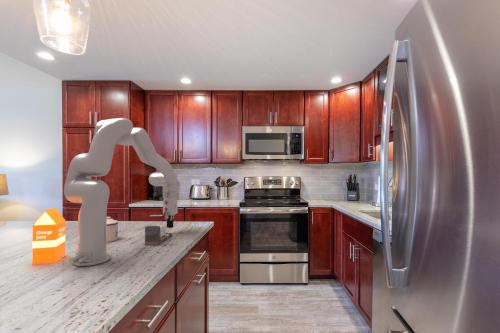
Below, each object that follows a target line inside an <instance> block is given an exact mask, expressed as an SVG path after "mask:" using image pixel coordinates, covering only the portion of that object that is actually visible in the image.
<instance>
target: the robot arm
mask: <svg viewBox="0 0 500 333" xmlns="http://www.w3.org/2000/svg"><path fill="white" fill-rule="evenodd" d="M94 130H95V133H94V135H93V138H92V140H91V143H90V147H89V151H88V152H87V153H86V152H84V153H80V154H77V155H75V156H74V157H73V158H72V159H71V161H70V162H69V166H68V170H67V174H66V177H65V182H64V187H63V195H64V197H65V199H66V200H67V201H69V202H71V203H74V204H81V206H80V209H79V211H78V216H77V235H78V236H77V252H76V255H75V256H74V257H71V258H69V260H68V263H69V265H73V266H76V267H90V266H95V265H100V264H105V263H106V262H108V261H110V260H111V259H112V258H111V257H112V254H111V253H108V252H107V242H106V240H107V217H108V216H107V212H108V211H107V210H108V202H109V199H110V187H109V185H108V183H106V182H105V181H103V180H100V179H92V177H103V176H106V175H108V174H109V172H110V170H111V167H112V162H113V157H114V152H115V148H116V146H117V145H120V146H124V147H125V146H126V147H130V146H132V147H133V149H134V152H136V154H137V157H138V158H139V161H141V162H142V163H144V164H146V165H148V166H150V167H153V168H155V169H157V170H158V171H155V172H152V173H150V174H149V177H148V182H149V184H150V185H152V186H153V187H162V198H163V201H162V202H163V203H162V214H163V216H164V218H165V220H166V228H167V229H172V228H174V220H175V219H174V218H175V217H174V216H175V215H176V214H178V212H179V210H178V208H179V207H178V173H177V172H175V171H174V170H175V169H174V168H173V166H172V165H171V163H170V162H168V160H166V158H164V157H163V156H162V155H160V154H158V152H157V151H156V148H155V147H154V144H153V143H152V140H151V138H150V137H149V135H148V132H147V131H146V130H145V129H144V128H143V127H134V124H133V121H132V120H130V119H128V118H125V117H118V118H109V119H102V120H100V121H98V122H97V123H96V124H95V127H94Z"/></svg>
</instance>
